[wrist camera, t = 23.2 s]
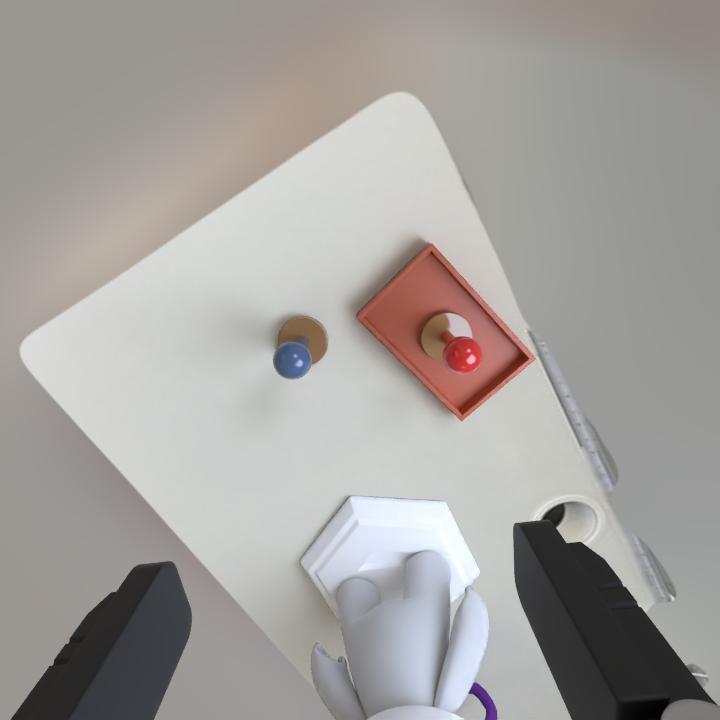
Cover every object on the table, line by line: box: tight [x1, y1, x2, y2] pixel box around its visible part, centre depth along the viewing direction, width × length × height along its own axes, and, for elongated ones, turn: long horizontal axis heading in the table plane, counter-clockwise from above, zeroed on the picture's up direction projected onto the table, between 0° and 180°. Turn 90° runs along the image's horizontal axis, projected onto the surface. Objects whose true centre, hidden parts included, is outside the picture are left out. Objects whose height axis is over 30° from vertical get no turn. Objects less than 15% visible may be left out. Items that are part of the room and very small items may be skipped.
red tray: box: [357, 243, 536, 421], centre depth 40 cm, size 16×10×2 cm, turn 45°
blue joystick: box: [273, 316, 328, 379], centre depth 37 cm, size 5×5×9 cm
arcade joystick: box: [420, 311, 483, 375], centre depth 37 cm, size 5×5×9 cm
